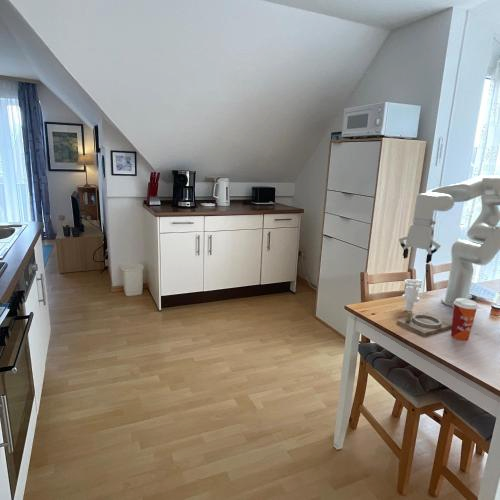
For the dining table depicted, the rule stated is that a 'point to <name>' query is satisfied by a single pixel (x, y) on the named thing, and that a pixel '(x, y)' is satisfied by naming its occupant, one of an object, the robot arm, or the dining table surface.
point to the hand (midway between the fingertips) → (416, 260)
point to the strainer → (411, 293)
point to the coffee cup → (463, 318)
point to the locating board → (425, 323)
